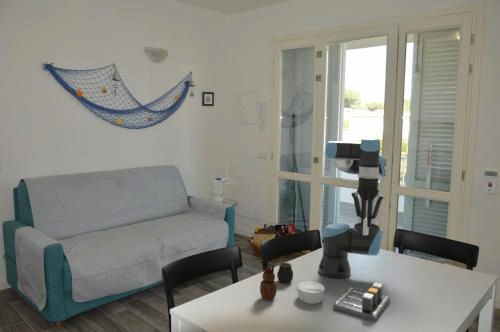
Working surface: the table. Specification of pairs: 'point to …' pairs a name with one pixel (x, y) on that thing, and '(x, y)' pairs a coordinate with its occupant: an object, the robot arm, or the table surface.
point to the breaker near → (367, 301)
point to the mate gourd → (285, 272)
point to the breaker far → (379, 287)
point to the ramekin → (310, 292)
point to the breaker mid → (375, 293)
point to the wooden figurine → (268, 284)
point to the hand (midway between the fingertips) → (365, 234)
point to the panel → (359, 304)
